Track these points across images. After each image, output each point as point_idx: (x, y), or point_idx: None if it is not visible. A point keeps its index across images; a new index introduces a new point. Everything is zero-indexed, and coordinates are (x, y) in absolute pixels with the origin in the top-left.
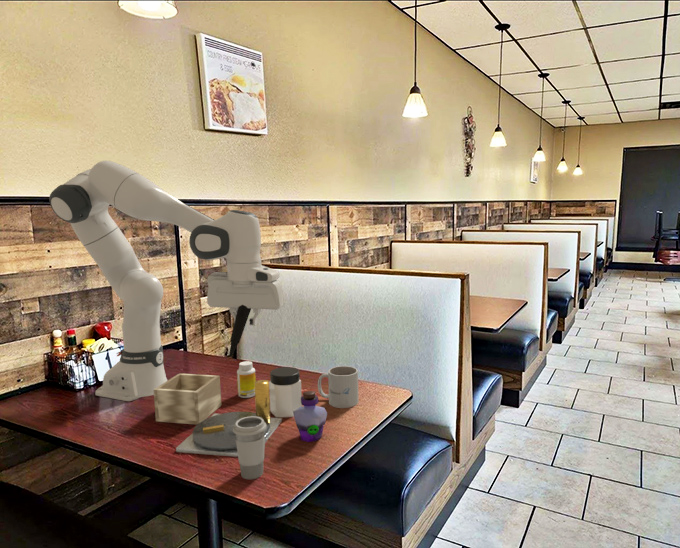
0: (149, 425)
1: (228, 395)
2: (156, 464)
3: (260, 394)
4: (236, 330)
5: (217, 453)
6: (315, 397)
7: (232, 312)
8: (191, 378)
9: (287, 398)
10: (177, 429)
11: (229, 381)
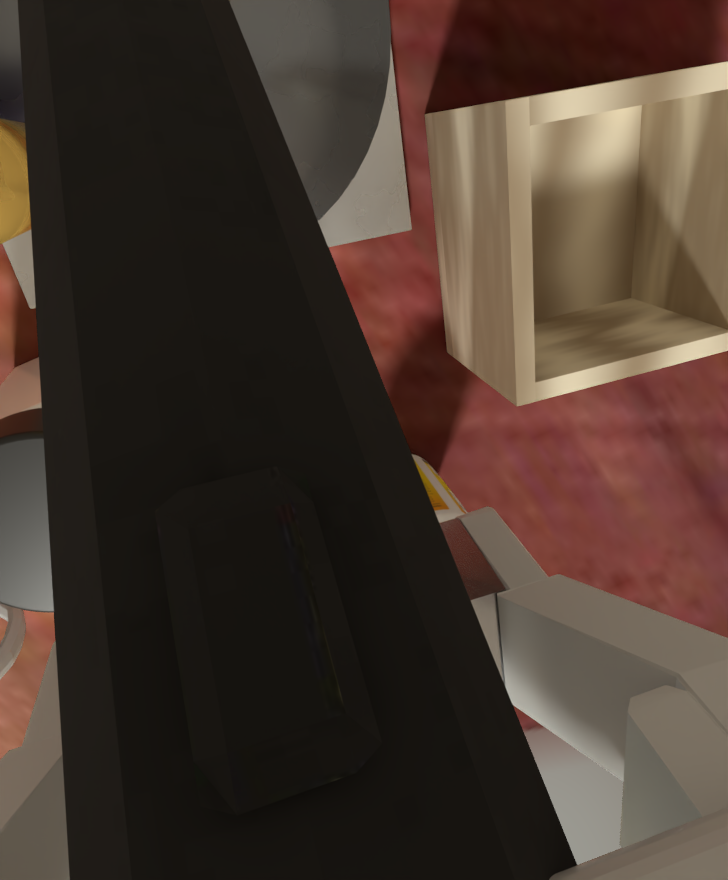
0: (654, 18)
1: (473, 450)
2: None
3: None
4: (108, 61)
5: None
6: None
7: (666, 664)
8: (659, 341)
9: (8, 395)
10: (500, 21)
11: (543, 561)
